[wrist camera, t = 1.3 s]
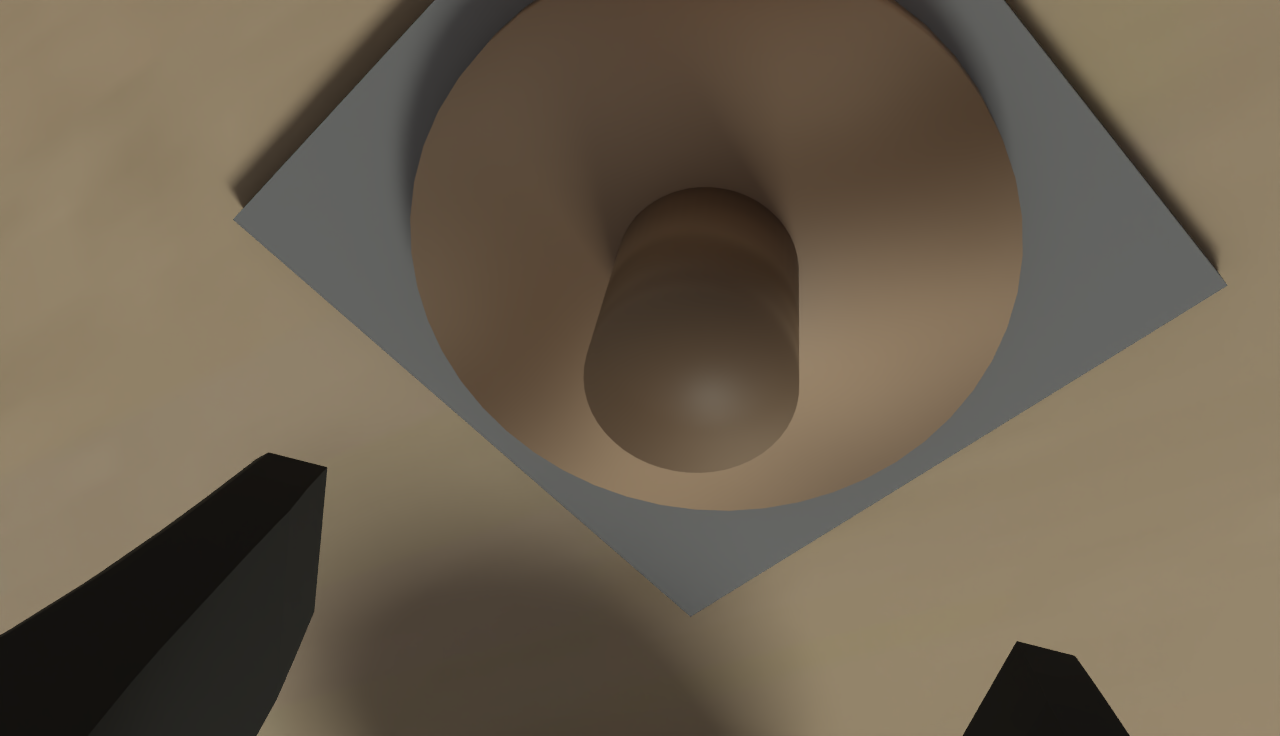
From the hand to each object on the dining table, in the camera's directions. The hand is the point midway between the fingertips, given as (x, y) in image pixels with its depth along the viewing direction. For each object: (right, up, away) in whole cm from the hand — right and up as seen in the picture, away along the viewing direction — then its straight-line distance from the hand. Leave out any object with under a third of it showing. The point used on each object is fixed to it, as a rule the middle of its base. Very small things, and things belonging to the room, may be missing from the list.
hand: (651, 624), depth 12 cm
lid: (+1, +5, +8) cm, 9 cm away
